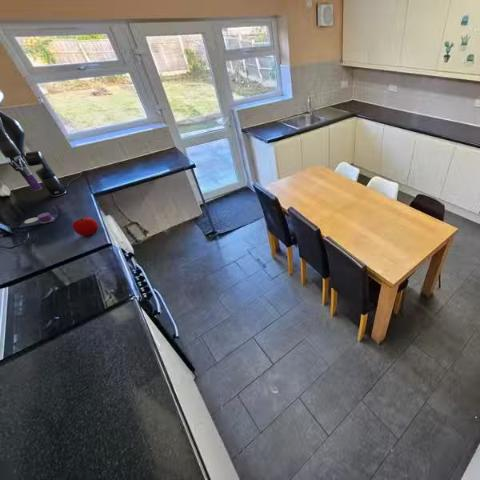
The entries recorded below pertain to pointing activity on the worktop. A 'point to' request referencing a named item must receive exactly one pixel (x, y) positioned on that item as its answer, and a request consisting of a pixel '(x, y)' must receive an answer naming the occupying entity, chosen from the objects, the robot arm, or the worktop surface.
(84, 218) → the tomato
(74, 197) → the worktop surface
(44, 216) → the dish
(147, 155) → the worktop surface
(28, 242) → the worktop surface
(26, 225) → the mat
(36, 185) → the container
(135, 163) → the worktop surface
